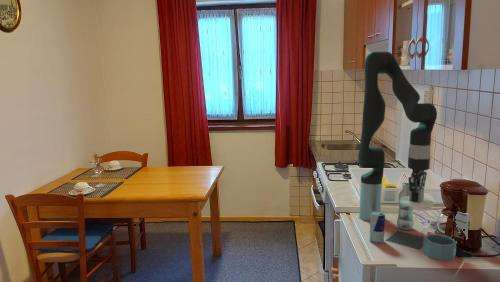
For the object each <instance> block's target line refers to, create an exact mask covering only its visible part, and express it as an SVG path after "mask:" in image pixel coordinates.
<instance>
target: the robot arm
mask: <svg viewBox="0 0 500 282" xmlns="http://www.w3.org/2000/svg"><path fill="white" fill-rule="evenodd" d="M379 74H380V75H381V74H383V75H385V74H386V76H388V77H389V78H390V79H391V81H392V83H391V84H392V85H391V86H392V92H393V94H394V96H395V98H397V100H399V103H400V104H401V105H402V108H403V110H404V113H405V116H406V118H407V119H408V120H409V121H410V122H412V123H419V124H418V126H417V127H415V128H414V129H411V131H410V133H409V135H410V136H409V147H408V155H407V167H408V169H410V170H411V174H410V176H409V177H408V183H409V191H411V192H412V196H411V201H413V202H417V201H418V192H419V187H421V188H425V185H426V180H427V174H428V173H427V171H428V170H429V169H430V163H431V162H430V161H431V137H432V136H431V134H432V132H433V129H434V126H435V124H436V121H437V117H438V115H437V114H438V113H437V108H436V106H435V105H434V104H433V103H430V102H428V103H426V102H425V103H424V102H423V103H420V102H419V101H420V99H421V97H420V96H421V95H420V94H419V92H418V91H417V90H416V88H414V86H413V85H412V84H411V83H410V81H409V80H408V79H407V77H406V76H405V74H404V72H403V70H402V69H401V66H400V65H399V63H398V61H397V60H396V57H395V56H394V55H393V53H391V52H390V51H371V52H370V51H369V52H368V54H367V55H366V56H365V60H364V96H363V97H364V98H363V106H362V119H361V120H362V123H361V135H360V143H359V148H358V155H357V156H358V157H357V161H358V165H359V167H360V168H363V169H365V168H366V169H369V168H370V169H371V170H369V171H368V172H365V173H363V174H362V175H361V177H360V191H359V192H360V194H359V212H358V213H359V214H358V218H359V219H360V220H362V221H366V222H370V219H371V212H373V211H380V212H381V211H382V209H381V206H382V188H383V187H382V186H383V177H384V169H385V157H386V155H385V151H384V148H382V147H376V146H375V147H372V146H371V147H370V144H371V142H372V139H373V137H374V135H375V134H376V133H377V131H378V130H379V129H380V127H381V126H382V124H383V123H384V121H385V115H386V103H385V99H384V98H383V95H382V93H381V91H380V88H379V82H378V81H379V80H378V79H379ZM414 187H415V188H414Z"/></svg>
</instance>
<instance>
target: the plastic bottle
mask: <svg viewBox="0 0 500 282" xmlns="http://www.w3.org/2000/svg"><path fill="white" fill-rule="evenodd" d="M401 188H402V189H401V190H400V191H399V193H398V196H397V199H398V216H397V219H396V226H397V228H398V229H400V230H402V231H412V229H413V228H414V219H413V218H414V217H413V216H414V212H413V211H414V208H413V207H408V206H405V205H402V204H401V203H400V198H402V197H407V196H410V191H409V182H404V183H402V187H401Z"/></svg>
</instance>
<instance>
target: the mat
mask: <svg viewBox="0 0 500 282" xmlns="http://www.w3.org/2000/svg"><path fill="white" fill-rule="evenodd" d="M424 237H425V236H420V235H417V234H412V233H408V232H406V231H405V232H404V231H400V230H396V231H395V232H394V233H393V234H392V235H390V236H389V237H388V238H386V239H385V241H386V242H390V243H393V244H397V245H400V246H404V247H408V248H412V249H416V250H421V249H423V241H424Z"/></svg>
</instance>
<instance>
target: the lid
mask: <svg viewBox="0 0 500 282" xmlns="http://www.w3.org/2000/svg"><path fill="white" fill-rule="evenodd" d="M414 188H415V187H414ZM411 196H412V192H411V191H410V196H407V197H402V198H400V203H401V204H402V205H405V206H408V207H413V209H430V208H433V207H434V205H435V203H434V201H433V200H431V199H429V198H425V187H423V188H421V187H419V192H418V201H417V202H413V201H411Z"/></svg>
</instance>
